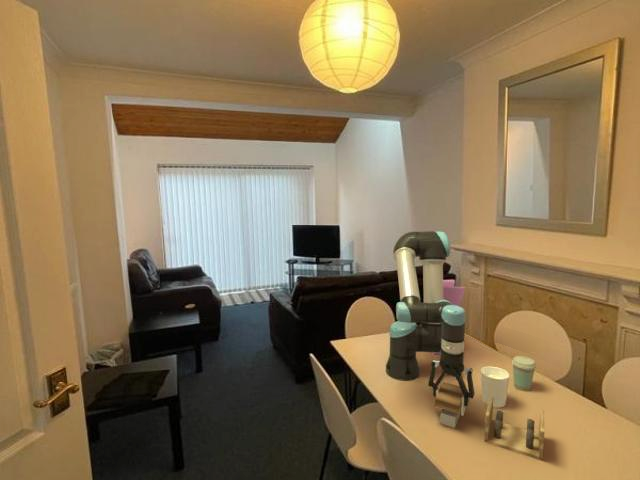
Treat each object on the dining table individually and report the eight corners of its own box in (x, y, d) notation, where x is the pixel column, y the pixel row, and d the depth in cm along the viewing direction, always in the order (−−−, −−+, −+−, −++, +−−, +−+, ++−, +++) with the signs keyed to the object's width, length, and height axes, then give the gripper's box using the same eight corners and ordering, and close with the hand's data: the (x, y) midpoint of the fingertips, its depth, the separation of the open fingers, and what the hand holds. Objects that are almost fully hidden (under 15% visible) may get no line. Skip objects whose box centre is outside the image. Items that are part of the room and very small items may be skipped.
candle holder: (496, 412, 128) (498, 381, 127) (474, 398, 137) (475, 370, 135) (513, 404, 133) (515, 374, 131) (490, 391, 141) (491, 364, 140)
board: (458, 414, 117) (459, 405, 117) (434, 406, 121) (434, 398, 121) (465, 395, 127) (465, 388, 127) (442, 389, 131) (443, 382, 131)
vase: (463, 355, 174) (466, 287, 169) (432, 355, 174) (434, 287, 169) (452, 342, 189) (454, 279, 185) (423, 342, 189) (424, 280, 185)
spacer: (455, 428, 120) (455, 417, 119) (440, 423, 123) (440, 412, 122) (459, 415, 127) (460, 405, 126) (445, 411, 129) (445, 401, 129)
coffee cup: (537, 393, 139) (539, 365, 138) (514, 391, 141) (516, 364, 139) (529, 382, 148) (531, 356, 146) (507, 380, 149) (509, 354, 148)
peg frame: (484, 441, 113) (485, 414, 112) (489, 421, 123) (490, 396, 122) (542, 460, 105) (544, 431, 103) (542, 437, 115) (544, 410, 113)
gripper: (419, 347, 124) (418, 405, 127) (483, 362, 113) (479, 425, 116) (425, 339, 130) (423, 395, 133) (486, 352, 119) (483, 412, 122)
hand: (449, 409), depth 125 cm, fingers closed on board, 8 cm apart
